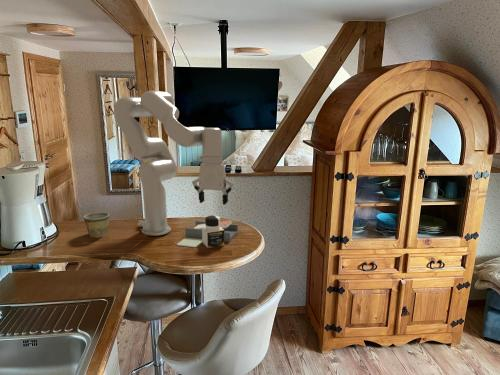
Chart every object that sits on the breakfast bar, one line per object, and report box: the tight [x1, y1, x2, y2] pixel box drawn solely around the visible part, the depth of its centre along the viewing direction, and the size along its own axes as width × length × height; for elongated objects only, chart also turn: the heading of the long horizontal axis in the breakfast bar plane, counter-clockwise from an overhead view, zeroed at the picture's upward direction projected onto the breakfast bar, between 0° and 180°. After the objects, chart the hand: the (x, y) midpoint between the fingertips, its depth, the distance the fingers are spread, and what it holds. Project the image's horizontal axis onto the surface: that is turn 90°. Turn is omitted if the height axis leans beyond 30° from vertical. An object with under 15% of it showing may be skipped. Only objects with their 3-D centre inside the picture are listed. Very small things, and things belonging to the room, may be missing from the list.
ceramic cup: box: [83, 211, 110, 239], centre depth 158 cm, size 13×10×10 cm
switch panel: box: [184, 220, 239, 243], centre depth 161 cm, size 20×12×5 cm, turn 74°
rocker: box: [194, 220, 233, 229], centre depth 161 cm, size 16×7×1 cm, turn 74°
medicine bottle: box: [201, 214, 225, 249], centre depth 150 cm, size 7×7×12 cm
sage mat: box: [176, 237, 203, 248], centre depth 152 cm, size 8×8×1 cm
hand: (213, 203), depth 146 cm, fingers open, 9 cm apart
